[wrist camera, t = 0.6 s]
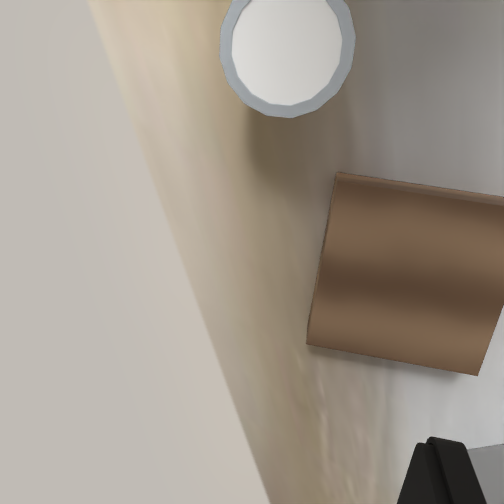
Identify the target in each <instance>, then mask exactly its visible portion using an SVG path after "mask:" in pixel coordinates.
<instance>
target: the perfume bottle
mask: <svg viewBox="0 0 504 504" xmlns="http://www.w3.org/2000/svg"><path fill="white" fill-rule="evenodd" d="M467 452H468V454H469V457H470V460H471V462H472V465H473V468H474V470H475V473H476V476H477V478H478V481H479V484H480V486H481V489H482V492H483V494H484V497H485V500H486V502H487V504H504V444H501V445H494V446H488V447H482V448H475V449H469V450H467Z"/></svg>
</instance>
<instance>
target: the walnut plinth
mask: <svg viewBox="0 0 504 504" xmlns="http://www.w3.org/2000/svg"><path fill="white" fill-rule="evenodd" d="M503 305H504V197H500V196H493V195H487V194H480V193H473V192H467V191H460V190H453V189H446V188H440V187H433V186H426V185H420V184H413V183H406V182H400V181H393V180H386V179H379V178H373V177H366V176H359V175H353V174H346V173H339V172H336V178H335V183H334V188H333V193H332V199H331V204H330V209H329V215H328V220H327V225H326V230H325V236H324V241H323V246H322V251H321V257H320V262H319V267H318V273H317V278H316V283H315V288H314V294H313V299H312V304H311V309H310V315H309V320H308V327H307V340H306V344H308V345H314V346H319V347H325V348H330V349H335V350H341V351H346V352H351V353H357V354H362V355H367V356H373V357H378V358H383V359H389V360H394V361H399V362H405V363H410V364H415V365H421V366H426V367H431V368H437V369H442V370H447V371H453V372H458V373H463V374H469V375H474V376H478V374H479V371H480V368H481V365H482V363H483V360H484V357H485V354H486V352H487V349H488V346H489V343H490V341H491V338H492V335H493V332H494V330H495V327H496V324H497V321H498V319H499V316H500V313H501V310H502V308H503Z"/></svg>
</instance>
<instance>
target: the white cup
mask: <svg viewBox="0 0 504 504" xmlns="http://www.w3.org/2000/svg"><path fill="white" fill-rule="evenodd" d="M355 41H356V35H355V31H354V26H353V22H352V18H351V13H350V9H349V7H348V6H347V4H346V3H345V2H344V0H232V2H231V5H230V7H229V9H228V12H227V14H226V16H225V19H224V21H223V23H222V26H221V32H220V53H219V57H220V60H221V63H222V66H223V70H224V73H225V76H226V79H227V82H228V84H229V85H230V86H231V88H232V89H233V90H234V91H235V93H236V94H237V95H238V96H239V98H240V99H241V100H242V101H243V103H244V104H246V105H248V106H250V107H251V108H253V109H255V110H257V111H259V112H261V113H262V114H264V115H266V116H274V117H285V118H294V117H297V116H300V115H303V114H306V113H309V112H312V111H316V110H317V109H319V108H320V107H321V106H322V105H323V104H325V103H326V102H327V101H328V100H329V99H330V98H332V97H333V96H334V95H335V94H336V93H338V91H339V89H340V87H341V86H342V84H343V82H344V80H345V78H346V77H347V75H348V73H349V71H350V69H351V67H352V62H353V55H354V48H355Z"/></svg>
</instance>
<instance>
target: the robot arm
mask: <svg viewBox="0 0 504 504" xmlns="http://www.w3.org/2000/svg"><path fill="white" fill-rule="evenodd" d="M397 504H487V502H486V500H485V497H484V494H483V492H482V489H481V486H480V484H479V481H478V478H477V476H476V473H475V470H474V468H473V465H472V462H471V460H470V457H469V454H468V452H467V449H466V447H465V445H464V444H463V443H461V442H456V441H451V440H446V439H441V438H436V437H429V438H428V439H427V442H426V444H425V443H417V444H416V447H415V449H414V453H413V456H412V459H411V462H410V465H409V468H408V471H407V474H406V477H405V480H404V483H403V486H402V489H401V492H400V495H399V499H398V502H397Z"/></svg>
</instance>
